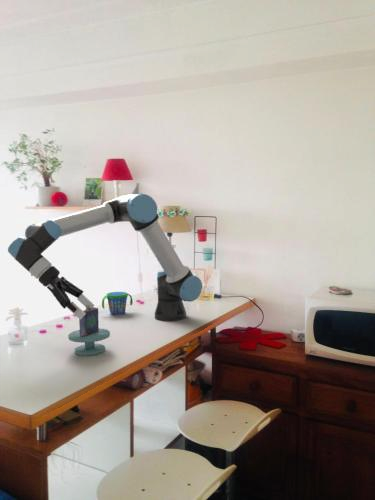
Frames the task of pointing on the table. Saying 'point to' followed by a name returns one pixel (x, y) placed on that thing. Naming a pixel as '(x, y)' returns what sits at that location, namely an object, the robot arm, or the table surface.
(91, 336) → the cake stand
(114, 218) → the robot arm
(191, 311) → the table surface
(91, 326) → the flask
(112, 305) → the snack cup
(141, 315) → the table surface
